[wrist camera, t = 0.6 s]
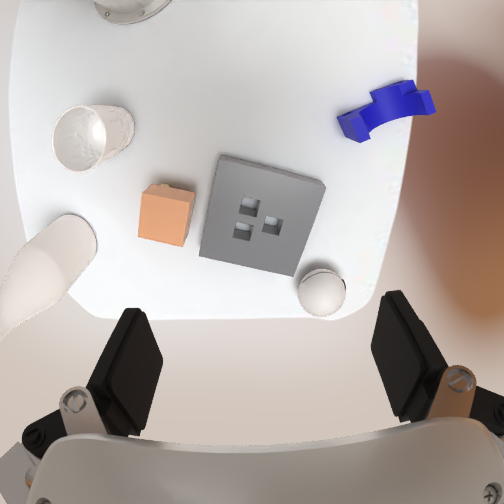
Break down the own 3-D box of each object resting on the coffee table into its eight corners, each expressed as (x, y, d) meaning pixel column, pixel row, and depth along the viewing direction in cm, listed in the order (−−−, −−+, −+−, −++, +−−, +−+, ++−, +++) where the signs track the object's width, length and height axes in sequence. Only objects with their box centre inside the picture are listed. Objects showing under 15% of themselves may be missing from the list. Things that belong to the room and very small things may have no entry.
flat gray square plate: (201, 246, 44) (198, 255, 41) (221, 155, 37) (219, 159, 35) (291, 266, 46) (293, 276, 43) (321, 181, 39) (326, 187, 36)
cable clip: (402, 80, 32) (424, 79, 26) (414, 108, 33) (436, 112, 28) (331, 107, 34) (345, 108, 29) (345, 136, 36) (360, 143, 31)
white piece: (330, 300, 49) (340, 329, 42) (289, 293, 48) (294, 323, 42) (351, 249, 44) (366, 275, 38) (307, 240, 44) (316, 266, 37)
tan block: (153, 216, 42) (138, 236, 36) (158, 178, 39) (142, 192, 33) (192, 225, 42) (182, 247, 36) (199, 186, 40) (189, 202, 34)
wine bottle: (108, 243, 44) (5, 389, 17) (80, 271, 46) (-8, 402, 20) (71, 201, 40) (-61, 319, 14) (47, 234, 43) (-60, 347, 16)
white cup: (97, 161, 37) (60, 180, 29) (86, 111, 34) (46, 118, 25) (143, 149, 37) (112, 164, 28) (133, 95, 33) (99, 96, 24)
